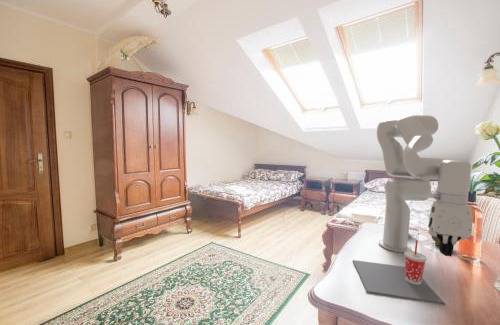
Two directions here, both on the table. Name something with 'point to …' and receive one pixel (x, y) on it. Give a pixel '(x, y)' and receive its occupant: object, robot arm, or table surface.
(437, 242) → the cup
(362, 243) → the table surface
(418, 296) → the mat
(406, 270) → the beverage cup
